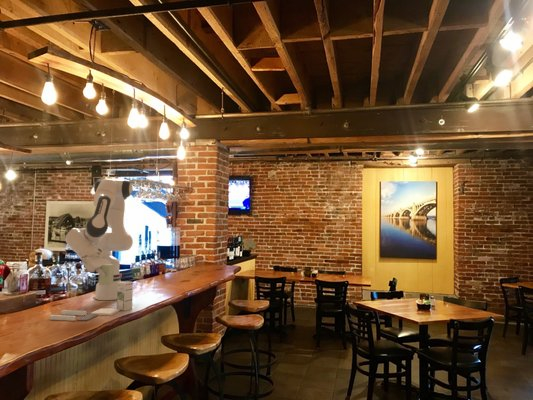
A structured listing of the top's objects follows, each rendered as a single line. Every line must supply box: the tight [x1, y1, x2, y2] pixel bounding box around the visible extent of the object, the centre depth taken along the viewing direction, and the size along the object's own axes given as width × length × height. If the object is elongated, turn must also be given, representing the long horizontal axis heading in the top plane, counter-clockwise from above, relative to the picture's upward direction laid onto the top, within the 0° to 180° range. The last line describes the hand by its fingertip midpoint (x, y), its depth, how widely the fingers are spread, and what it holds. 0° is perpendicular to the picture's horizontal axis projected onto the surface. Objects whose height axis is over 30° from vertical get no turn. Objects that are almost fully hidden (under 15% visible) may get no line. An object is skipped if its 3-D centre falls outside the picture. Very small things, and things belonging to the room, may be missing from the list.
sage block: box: [98, 264, 114, 285], centre depth 201 cm, size 5×5×10 cm
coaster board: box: [90, 307, 120, 317], centre depth 200 cm, size 10×10×1 cm
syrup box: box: [116, 280, 134, 312], centre depth 209 cm, size 6×6×14 cm
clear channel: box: [49, 309, 99, 322], centre depth 190 cm, size 11×18×2 cm, turn 87°
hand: (107, 274), depth 201 cm, fingers closed on sage block, 5 cm apart
